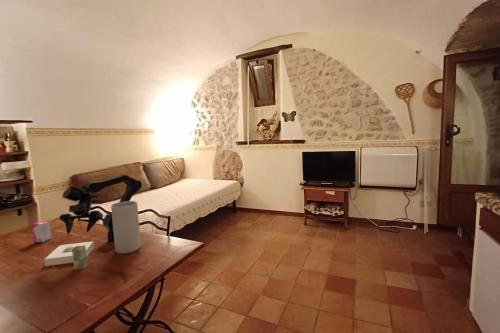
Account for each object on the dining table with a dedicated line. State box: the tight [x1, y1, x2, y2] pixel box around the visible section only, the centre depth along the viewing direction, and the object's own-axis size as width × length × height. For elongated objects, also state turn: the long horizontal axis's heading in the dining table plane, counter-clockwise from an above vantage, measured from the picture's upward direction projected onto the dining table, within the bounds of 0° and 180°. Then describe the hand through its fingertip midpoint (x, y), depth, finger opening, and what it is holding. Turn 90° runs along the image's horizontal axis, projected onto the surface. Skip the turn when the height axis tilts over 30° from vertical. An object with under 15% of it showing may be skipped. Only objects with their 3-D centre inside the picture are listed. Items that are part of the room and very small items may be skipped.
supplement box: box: [32, 220, 52, 244], centre depth 150 cm, size 6×6×12 cm
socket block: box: [44, 241, 95, 267], centre depth 130 cm, size 16×16×4 cm
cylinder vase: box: [110, 200, 142, 255], centre depth 135 cm, size 12×12×25 cm
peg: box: [72, 245, 88, 270], centre depth 118 cm, size 4×4×10 cm
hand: (77, 232), depth 125 cm, fingers open, 9 cm apart
